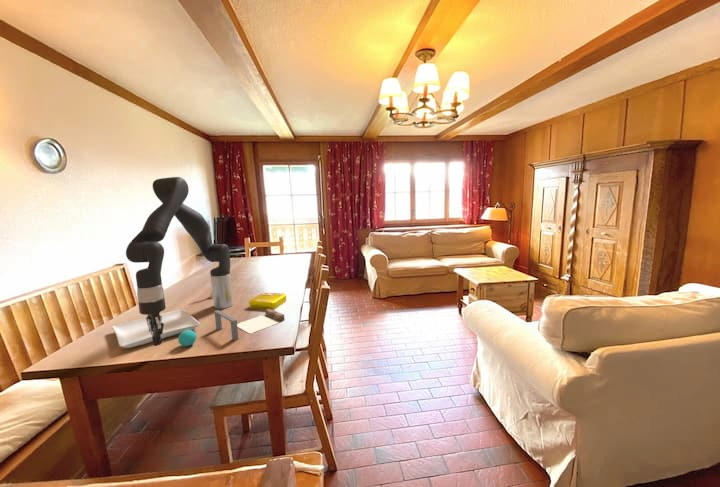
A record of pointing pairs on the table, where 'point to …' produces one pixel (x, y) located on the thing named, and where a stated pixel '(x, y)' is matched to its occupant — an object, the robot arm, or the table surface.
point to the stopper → (274, 314)
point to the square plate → (140, 335)
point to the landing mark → (256, 324)
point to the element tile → (267, 301)
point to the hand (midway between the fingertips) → (157, 344)
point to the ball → (187, 338)
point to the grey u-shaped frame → (233, 321)
